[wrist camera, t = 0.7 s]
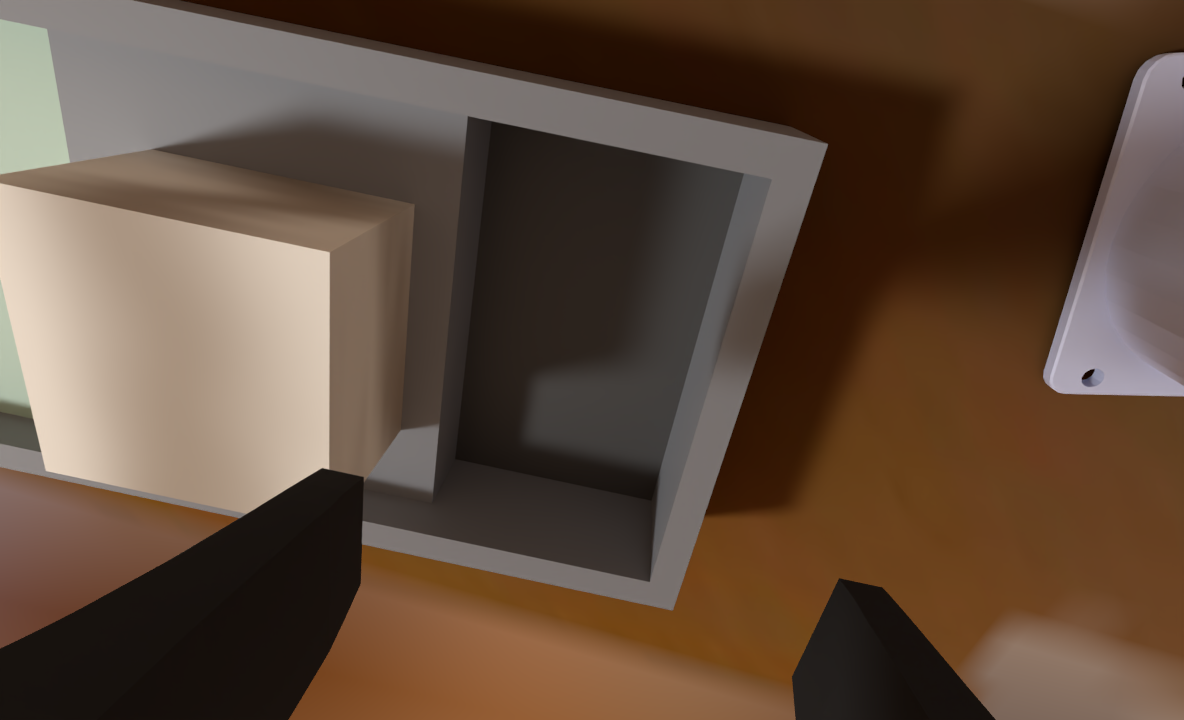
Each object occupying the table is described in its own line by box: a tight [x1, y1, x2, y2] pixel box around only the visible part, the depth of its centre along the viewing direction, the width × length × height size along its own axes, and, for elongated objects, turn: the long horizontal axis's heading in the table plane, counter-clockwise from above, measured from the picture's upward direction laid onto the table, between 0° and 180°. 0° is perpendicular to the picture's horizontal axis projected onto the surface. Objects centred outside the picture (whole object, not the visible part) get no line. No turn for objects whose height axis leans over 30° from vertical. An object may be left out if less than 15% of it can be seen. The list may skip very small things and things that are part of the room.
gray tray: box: [0, 0, 828, 610], centre depth 16 cm, size 30×12×4 cm, turn 79°
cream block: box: [0, 149, 415, 514], centre depth 14 cm, size 6×6×4 cm
